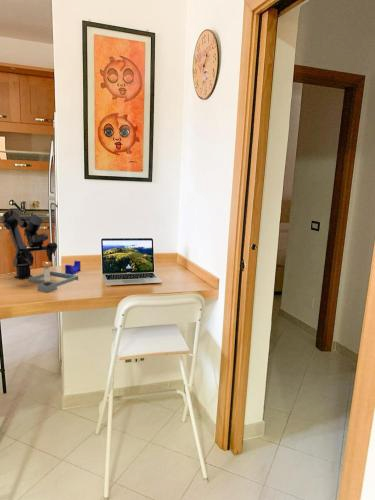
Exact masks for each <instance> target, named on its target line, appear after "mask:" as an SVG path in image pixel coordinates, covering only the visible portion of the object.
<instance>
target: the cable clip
mask: <svg viewBox="0 0 375 500" xmlns="http://www.w3.org/2000/svg"><path fill="white" fill-rule="evenodd" d="M64 269H65V272H64V273H65V274H71V275H75V274H77V273H80V272H81V261H80V260H74V263H73V265H72V264H65V267H64Z"/></svg>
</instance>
